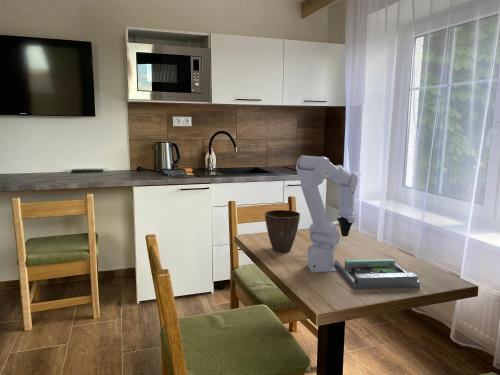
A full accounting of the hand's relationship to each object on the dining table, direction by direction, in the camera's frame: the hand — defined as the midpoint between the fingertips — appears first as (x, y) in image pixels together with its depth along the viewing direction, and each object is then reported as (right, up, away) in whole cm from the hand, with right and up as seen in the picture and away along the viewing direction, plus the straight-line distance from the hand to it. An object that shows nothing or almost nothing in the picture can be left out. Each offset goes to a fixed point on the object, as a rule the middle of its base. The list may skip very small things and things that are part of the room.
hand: (344, 236), depth 158 cm
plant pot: (-24, -8, +12) cm, 28 cm away
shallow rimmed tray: (+6, -12, -16) cm, 21 cm away
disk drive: (+7, -13, -18) cm, 24 cm away
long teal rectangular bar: (+6, -11, -12) cm, 18 cm away
